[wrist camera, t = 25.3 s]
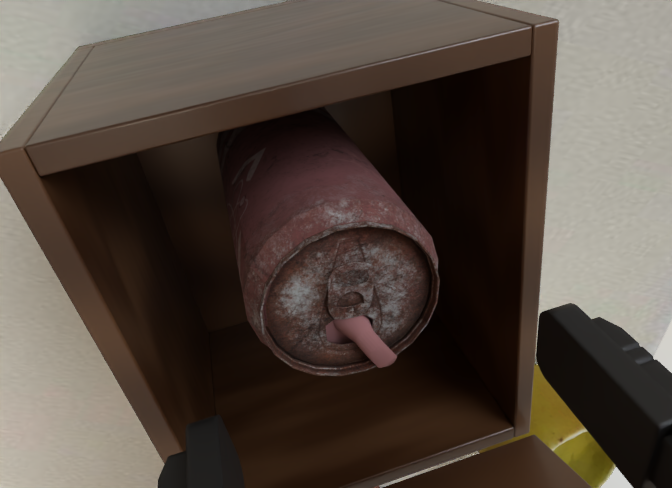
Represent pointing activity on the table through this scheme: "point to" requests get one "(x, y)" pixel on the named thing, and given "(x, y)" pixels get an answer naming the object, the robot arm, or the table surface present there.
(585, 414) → the robot arm
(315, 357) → the can
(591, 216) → the table surface
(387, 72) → the wooden box
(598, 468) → the mug
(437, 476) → the lid
